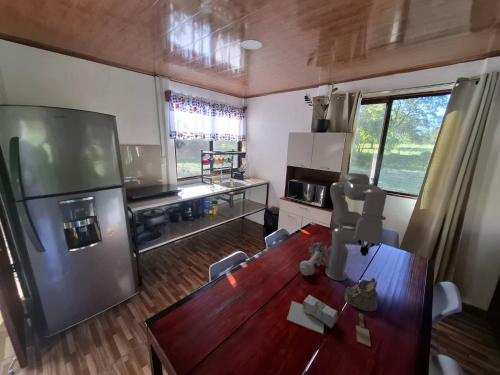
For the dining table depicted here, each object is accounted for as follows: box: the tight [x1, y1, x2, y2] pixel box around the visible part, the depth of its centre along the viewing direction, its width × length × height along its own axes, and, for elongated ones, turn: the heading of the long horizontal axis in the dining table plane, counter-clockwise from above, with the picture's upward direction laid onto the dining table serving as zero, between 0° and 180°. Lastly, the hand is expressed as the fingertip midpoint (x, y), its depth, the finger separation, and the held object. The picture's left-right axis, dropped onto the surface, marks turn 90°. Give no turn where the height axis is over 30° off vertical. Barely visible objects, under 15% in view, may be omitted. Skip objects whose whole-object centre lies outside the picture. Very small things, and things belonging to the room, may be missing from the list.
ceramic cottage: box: [343, 277, 378, 312], centre depth 108 cm, size 16×16×15 cm
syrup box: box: [302, 294, 338, 329], centre depth 96 cm, size 6×6×14 cm
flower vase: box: [299, 241, 329, 277], centre depth 133 cm, size 13×18×25 cm
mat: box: [286, 300, 325, 335], centre depth 96 cm, size 12×16×1 cm
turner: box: [355, 312, 372, 348], centre depth 92 cm, size 16×5×1 cm, turn 156°
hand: (363, 254), depth 93 cm, fingers closed
